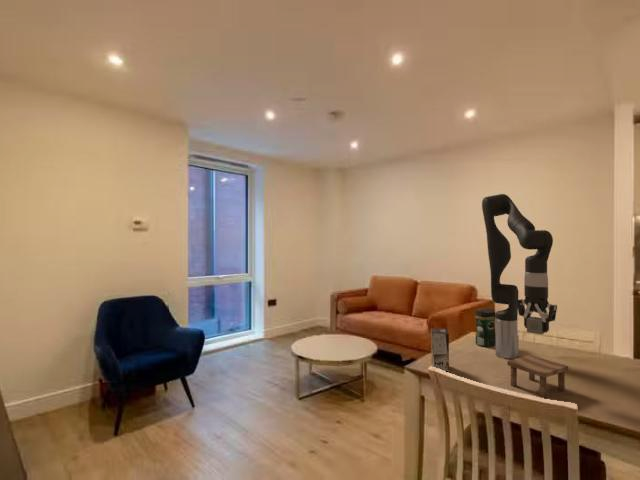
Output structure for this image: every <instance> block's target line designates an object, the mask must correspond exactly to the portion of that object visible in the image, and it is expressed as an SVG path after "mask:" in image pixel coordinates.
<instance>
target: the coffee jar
mask: <svg viewBox="0 0 640 480" xmlns="http://www.w3.org/2000/svg"><path fill="white" fill-rule="evenodd" d="M474 312H475V313H474V314H475V315H474V318H475V321H476V327H475V329H476V330H475V344H476V345H478V346H480V347H484V348H485V347H486V348H487V347H493V346H495V313H496V311H495V309H494V308H490V307H486V308H479V309H476V310H475V311H474Z"/></svg>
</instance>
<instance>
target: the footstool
mask: <svg viewBox="0 0 640 480" xmlns="http://www.w3.org/2000/svg"><path fill="white" fill-rule="evenodd" d="M506 363H507V366H509V367H510V386H511V387H517V385H518V383H517V382H518V380H517V379H518V377H517V376H518V374H517V372H518V371H517V370H521V371H523V372H527V373H528V380H529V381H535V380H536V376H538V377H539V397H540V398H541V397H544V398H543V399H547V378H549V377H552V376H555V375H557V390H558V391H559V392H565V390H566V384H565V383H566V379H565V377H566V375H565V373H566V371H569V365H566V364H561V363H558V362H555V361H552V360H549V359H545V358H541V357H538V356H535V355H532V354H528V355H525V356H520V357H517V358H514V359H511V360H510V359H509V360H507V362H506Z"/></svg>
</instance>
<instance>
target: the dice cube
mask: <svg viewBox="0 0 640 480" xmlns="http://www.w3.org/2000/svg"><path fill="white" fill-rule="evenodd" d="M542 322H543V320H542V318H541V317H539V316H538V317H537V316H532V315H531V316H530V317H529V318H527V328H526V333H530V334H535V335H544V334H545V333H544V332H542Z"/></svg>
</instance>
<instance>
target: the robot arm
mask: <svg viewBox="0 0 640 480" xmlns="http://www.w3.org/2000/svg"><path fill="white" fill-rule="evenodd" d="M481 210H482V216H483V220H484V221H483V222H484V225H485V233H486V243H487V253H488V254H487V255H488V256H487V257H488V262H489V269H490V271H489V272H490V294H491V300H492V302H494V303H495V304H499V305H500V304H501V305H508V307H507V308H506V309H501V310H497V311H495V345H494V346H495V356H498V357H499V358H502V359H508V360H510V359H511V360H513V359H517V358H519V355H520V352H519V351H520V347H519V346H520V344H519V342H520V341H519V337H520V336H519V335H518V333H519V332H518V331H519V329H518V327H519V325H518V315H519V317H523V324H524V325H523V326H524V328H525V329H527V318H529V317H530V316H531V317H532V314H533V313H537V314H538V315H539V316H540V318H542V320H543V322H542V332H544V334H546V333H547V332H549V330H550V322H554V321H556V317H557V310H558V305H557V304H551V303H549V301H548V299H549V276H548V261H549V257H550V254H551V250H552V247H553V244H554V243H553V242H554V239H553V235H552V233H551V232H550V231H548V230H545V229H541V230H539V229H537V230H536V228H535V227H536V226H535V225H534V224H533V223H532V222H531V221H530V220H529V219H528V218H527V217H525V216H524V215H523V214H522V212H521V211H520V210H519V208H518V207H517V205H516V204H515V202H514V201H513V200H512V199H511V197H510V196H509V195H508V194H505V193H500V194H493V195H489V196H484V197H483V199H482V200H481ZM505 215H508V216H507V220H506V222H507V227H508V228H509V230H511V232H513V233H514V234H515V236H516V238H517V240H518V243H519V245H520V247H521V248H523V249H525V250H530V251H531V250H536V251H535V254H532V255H529V256H527V257H525V261H524V264H525V265H524V270H525V271H524V278H523V279H524V283H523V284H524V286H523V287H524V288H523V289H524V298H523V299H521V298H519V289H518V286H517V285H515V284H506V283H501V276H502V274H503V272H504V270H505V269H506V268H507V267H508V265H509V263H510V261H511V258H512V252H511V244H510V241H509V240H508V238H507V237H506V236H505V235H504V234H503V232H502V231H501V230H499V228H498V227H497V225H496V222H495V217H499V216H505ZM525 305H526V307H525Z"/></svg>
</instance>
